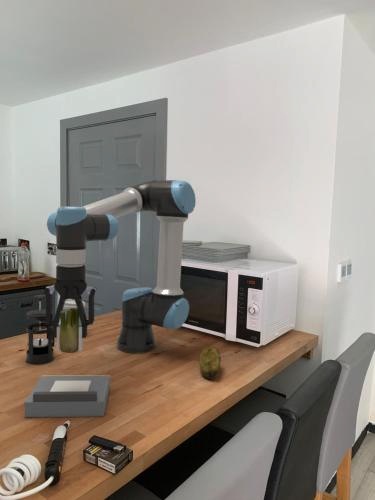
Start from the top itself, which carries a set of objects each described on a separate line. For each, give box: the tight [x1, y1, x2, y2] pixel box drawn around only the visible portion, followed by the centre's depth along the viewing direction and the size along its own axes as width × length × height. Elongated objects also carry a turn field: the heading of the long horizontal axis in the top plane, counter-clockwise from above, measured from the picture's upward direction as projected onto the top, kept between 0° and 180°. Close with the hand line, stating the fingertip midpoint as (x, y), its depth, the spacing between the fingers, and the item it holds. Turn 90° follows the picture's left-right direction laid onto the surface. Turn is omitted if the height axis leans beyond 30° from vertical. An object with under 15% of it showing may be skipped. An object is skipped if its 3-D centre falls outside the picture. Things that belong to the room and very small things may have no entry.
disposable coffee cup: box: [63, 299, 86, 326], centre depth 166 cm, size 11×11×15 cm
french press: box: [25, 294, 55, 366], centre depth 139 cm, size 12×9×23 cm
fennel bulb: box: [59, 308, 79, 354], centre depth 108 cm, size 6×5×12 cm
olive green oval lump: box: [199, 346, 222, 380], centre depth 133 cm, size 8×13×8 cm, turn 162°
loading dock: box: [24, 374, 111, 418], centre depth 111 cm, size 20×17×6 cm
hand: (70, 348), depth 108 cm, fingers closed on fennel bulb, 5 cm apart
